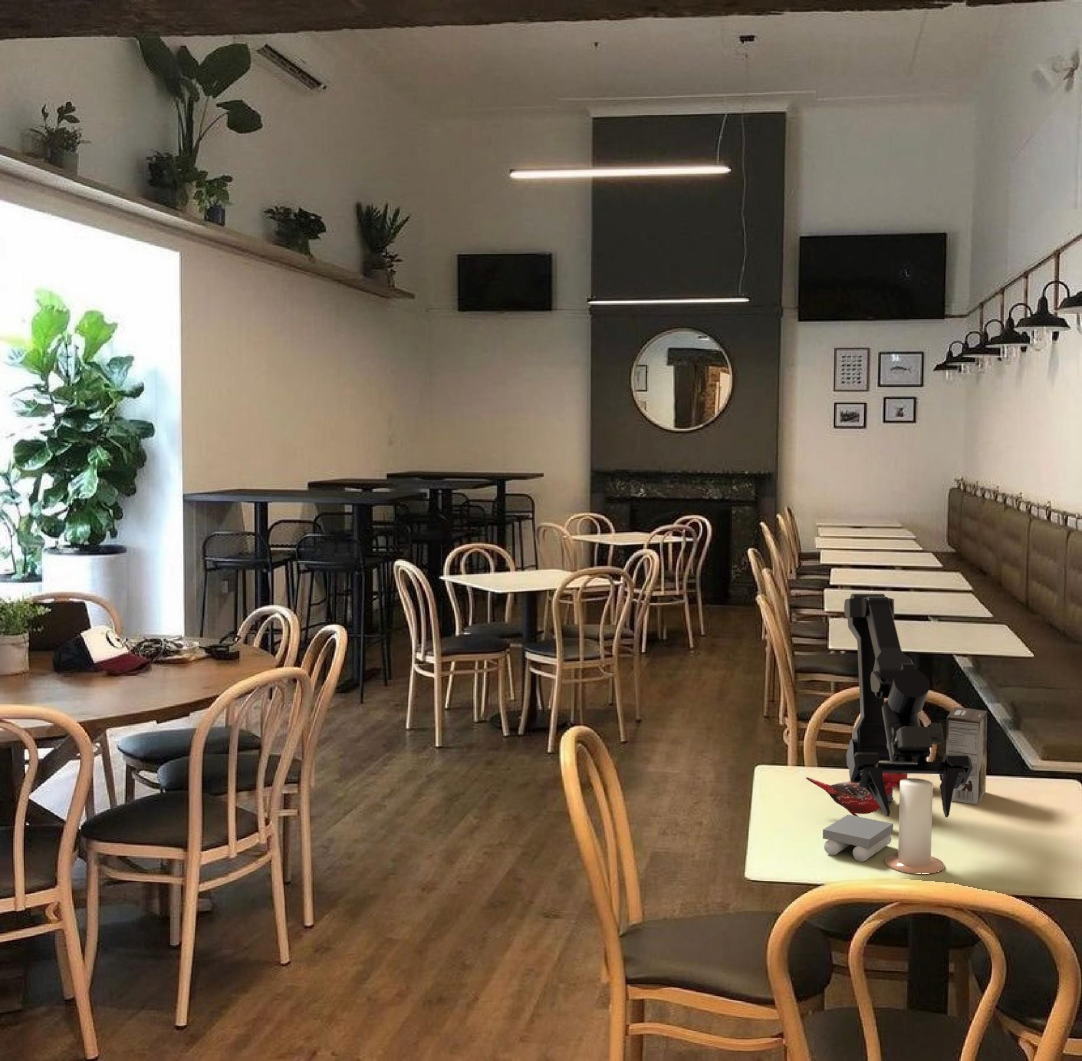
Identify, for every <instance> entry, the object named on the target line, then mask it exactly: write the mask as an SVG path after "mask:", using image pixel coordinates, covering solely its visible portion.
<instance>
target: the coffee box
mask: <svg viewBox="0 0 1082 1061" xmlns="http://www.w3.org/2000/svg"><path fill="white" fill-rule="evenodd" d="M987 736H988V710H982V709H973V708H969V707H968V708H966V707H953V708H952V709H951V711H950V713H948V714H947V717H946V746H945V748H946V749H945V750H946V751H945V752H946V753H945V754H966V755H967V756H969V758H970V759H971V762H972V767H973V768H972V770H971V773H970V775H969V777H968V779H967V782H966V783H965V784H962V785H960V786H959V788H957V789H954V790H953V795H952V801H951V802H956V801H958V802H957V803H963V802H966V803H965V804H972V805H979V804H980V803H981V801H982V799H983V797H984V794H985V793H986V790H987V789H986V784H987V783H986V782H987V780H986V779H987V778H986V776H987V742H988V737H987Z"/></svg>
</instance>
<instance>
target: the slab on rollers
mask: <svg viewBox="0 0 1082 1061" xmlns="http://www.w3.org/2000/svg"><path fill="white" fill-rule="evenodd" d="M858 816H859V815H857V816H854V815H852V814H847V815H844V816H842V818H840V819H838V820H836V821H834V822H833V823H832V824H829V825H828V826H826V827H825V828H823V829H822V839H824V840H826V841H825V842H824V845H823V849H824V851H825V853H826V854H828V855H829V856H835V855H837V854H838V853H840V852H841V851H843V850H845V849H847V848H848V847H849V846H850V845H853V846H855V847H853V850H852V855H853V858H854V859H855V860H856V861H857V862H861V863H862V862H863V863H864V862H865V861H867V860H869V859H870V858H872V856H874V855H875V854H876V853H878V852H880V851H882V850H883V849H884V848H885V847H888V845H890V844H891V843H892V836H891V834H892V833H894V823H893V822H888V821H882V820H877V819H872V818H867V817H862V816H859V817H858Z"/></svg>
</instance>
